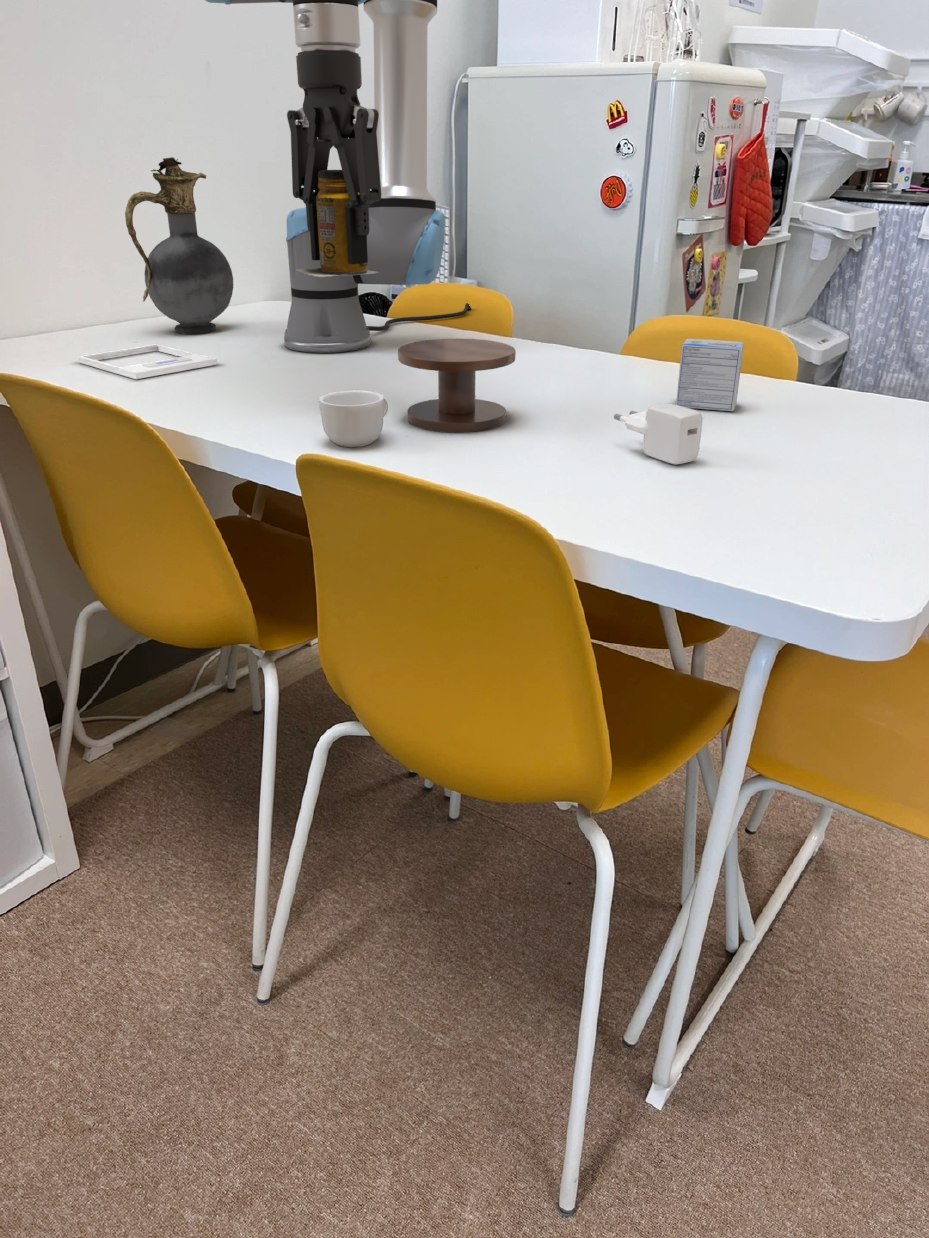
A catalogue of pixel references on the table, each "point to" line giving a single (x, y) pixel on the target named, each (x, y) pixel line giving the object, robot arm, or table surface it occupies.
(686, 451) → the power adapter
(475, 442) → the table surface
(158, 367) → the photo frame
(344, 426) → the teacup
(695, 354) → the medicine box
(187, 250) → the pitcher
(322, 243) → the condiment
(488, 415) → the stand
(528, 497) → the table surface
